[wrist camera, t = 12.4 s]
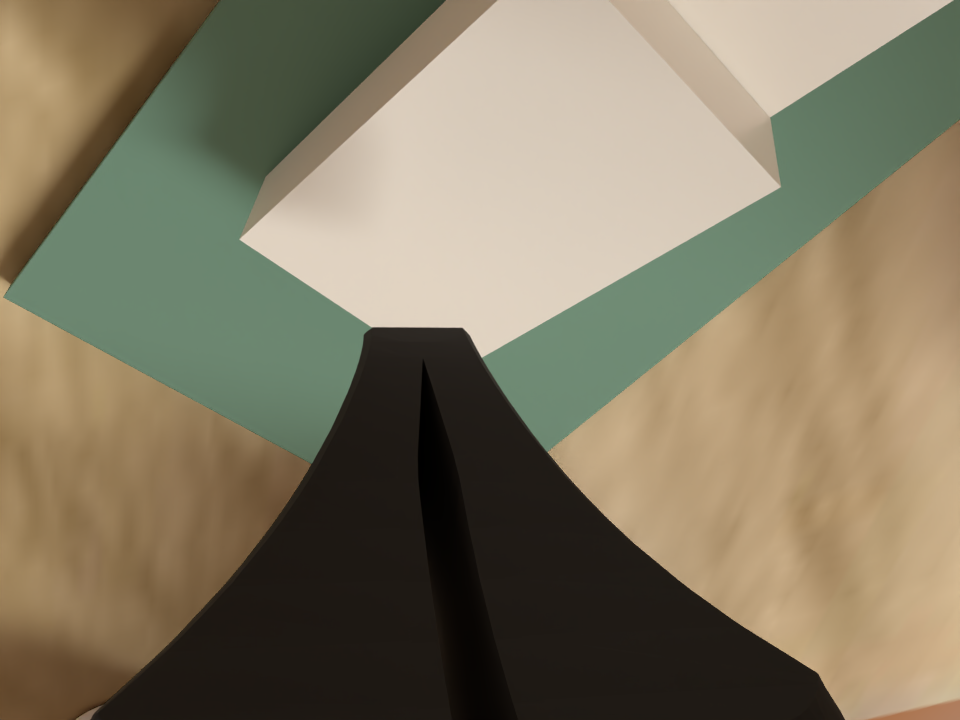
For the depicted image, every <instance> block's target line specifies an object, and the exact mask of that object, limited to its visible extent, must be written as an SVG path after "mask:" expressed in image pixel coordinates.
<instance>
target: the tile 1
mask: <svg viewBox="0 0 960 720" xmlns="http://www.w3.org/2000/svg"><path fill="white" fill-rule="evenodd" d="M780 187H781V184H780V177H779V171H778V164H777V158H776V152H775V145H774V139H773V132H772V126H771V119H770V117H769V116H768V115H767V114H766V113H765V111H764V110H763V109H762V108H761V107H760V106H759V105H758V103H757V102H756V101H755V100H754V99H753V98H752V97H751V95H750V94H749V93H748V92H747V91H746V90H745V89H744V87H743V86H742V85H741V84H740V83H739V82H738V81H737V79H736V78H735V77H734V76H733V75H732V74H731V73H730V71H729V70H728V69H727V68H726V67H725V66H724V65H723V63H722V62H721V61H720V60H719V59H718V58H717V57H716V55H715V54H714V53H713V52H712V51H711V50H710V49H709V47H708V46H707V45H706V44H705V43H704V42H703V41H702V39H701V38H700V37H699V36H698V35H697V34H696V33H695V31H694V30H693V29H692V28H691V27H690V26H689V25H688V23H687V22H686V21H685V20H684V19H683V18H682V17H681V15H680V14H679V13H678V12H677V11H676V10H675V9H674V7H673V6H672V5H671V4H670V3H669V2H668V1H667V0H446V1H445V2H444V3H443V4H442V5H441V6H440V7H439V8H438V9H437V10H436V11H435V12H434V13H433V14H432V15H431V16H430V17H429V18H428V19H427V20H426V21H425V22H424V23H422V24H421V25H420V26H419V27H418V28H417V29H416V30H415V31H414V32H413V33H412V34H411V35H410V36H409V37H408V38H407V39H406V40H405V41H404V42H403V43H402V44H401V45H400V46H399V47H398V48H397V49H396V50H395V51H394V52H393V53H392V54H391V55H390V56H389V57H388V58H387V59H386V60H385V61H384V62H383V63H382V64H381V65H379V66H378V67H377V68H376V69H375V70H374V71H373V72H372V73H371V74H370V75H369V76H368V77H367V78H366V79H365V80H364V81H363V82H362V83H361V84H360V85H359V86H358V87H357V88H356V89H355V90H354V91H353V92H352V93H351V94H350V95H349V96H348V97H347V98H346V99H345V100H344V101H343V102H342V103H341V104H340V105H339V106H338V107H336V108H335V109H334V110H333V111H332V112H331V113H330V114H329V115H328V116H327V117H326V118H325V119H324V120H323V121H322V122H321V123H320V124H319V125H318V126H317V127H316V128H315V129H314V130H313V131H312V132H311V133H310V134H309V135H308V136H307V137H306V138H305V139H304V140H303V141H302V142H301V143H300V144H299V145H298V146H297V147H296V148H294V149H293V150H292V151H291V152H290V153H289V154H288V155H287V156H286V157H285V158H284V159H283V160H282V161H281V162H280V163H279V164H278V165H277V166H276V167H275V168H274V169H273V170H272V171H271V172H270V173H269V174H268V175H267V176H266V177H265V180H264V182H263V184H262V187H261V189H260V191H259V194H258V196H257V199H256V201H255V203H254V206H253V208H252V210H251V213H250V215H249V218H248V220H247V222H246V225H245V227H244V229H243V232H242V234H241V236H240V239H239V240H241V241H242V242H244V243H245V244H247V245H248V246H250V247H251V248H253V249H254V250H256V251H257V252H259V253H260V254H262V255H263V256H265V257H266V258H268V259H269V260H271V261H272V262H274V263H275V264H277V265H278V266H280V267H281V268H283V269H284V270H286V271H287V272H289V273H290V274H292V275H293V276H295V277H296V278H298V279H299V280H301V281H302V282H304V283H306V284H307V285H309V286H310V287H312V288H313V289H315V290H316V291H318V292H319V293H321V294H322V295H324V296H325V297H327V298H328V299H330V300H331V301H333V302H334V303H336V304H337V305H339V306H340V307H342V308H343V309H345V310H346V311H348V312H349V313H351V314H352V315H354V316H355V317H357V318H358V319H360V320H361V321H363V322H364V323H366V324H367V325H369V326H370V327H439V328H463V329H464V330H465V331H466V332H467V333H468V334H469V335H470V337H471V339H472V341H473V343H474V345H475V346H476V348H477V350H478V352H479V354H480V356H481V357H484V356H486V355H488V354H489V353H491V352H493V351H495V350H496V349H498V348H500V347H502V346H503V345H505V344H507V343H509V342H510V341H512V340H514V339H516V338H517V337H519V336H521V335H523V334H524V333H526V332H528V331H530V330H531V329H533V328H535V327H537V326H538V325H540V324H542V323H544V322H545V321H547V320H549V319H551V318H552V317H554V316H556V315H558V314H559V313H561V312H563V311H565V310H566V309H568V308H570V307H572V306H573V305H575V304H577V303H579V302H580V301H582V300H584V299H586V298H587V297H589V296H591V295H593V294H594V293H596V292H598V291H600V290H601V289H603V288H605V287H607V286H608V285H610V284H612V283H614V282H616V281H617V280H619V279H621V278H623V277H624V276H626V275H628V274H630V273H631V272H633V271H635V270H637V269H638V268H640V267H642V266H644V265H645V264H647V263H649V262H651V261H652V260H654V259H656V258H658V257H659V256H661V255H663V254H665V253H666V252H668V251H670V250H672V249H673V248H675V247H677V246H679V245H680V244H682V243H684V242H686V241H687V240H689V239H691V238H693V237H694V236H696V235H698V234H700V233H701V232H703V231H705V230H707V229H708V228H710V227H712V226H714V225H715V224H717V223H719V222H721V221H722V220H724V219H726V218H728V217H729V216H731V215H733V214H735V213H737V212H738V211H740V210H742V209H744V208H745V207H747V206H749V205H751V204H752V203H754V202H756V201H758V200H759V199H761V198H763V197H765V196H766V195H768V194H770V193H772V192H773V191H775V190H777V189H779V188H780Z"/></svg>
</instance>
